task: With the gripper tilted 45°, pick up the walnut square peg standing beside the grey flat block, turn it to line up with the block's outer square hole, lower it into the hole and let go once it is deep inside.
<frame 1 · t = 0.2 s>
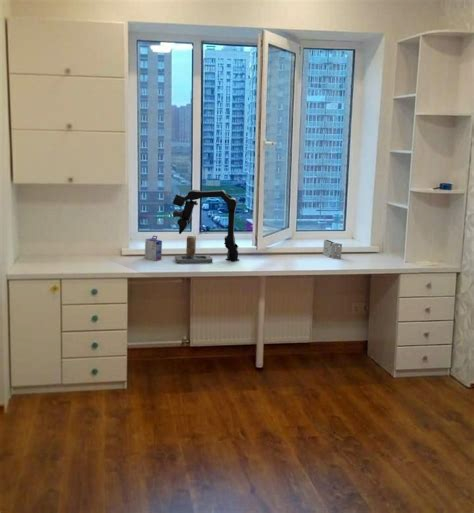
hand: (181, 232, 409), 16 cm above the table, tool tilted 15°, fingers open, 9 cm apart
ink cartridge box: (153, 259, 403), on the table
walnut peg: (190, 256, 412), on the table
grey flat block: (193, 261, 402), on the table
hinge: (331, 256, 432), on the table
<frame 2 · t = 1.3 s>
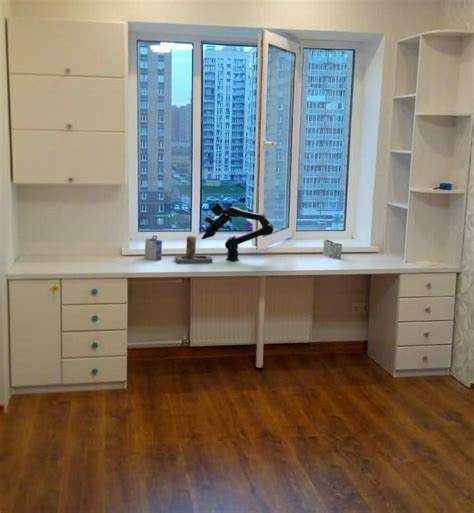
hand: (203, 237, 408), 13 cm above the table, tool tilted 45°, fingers open, 9 cm apart
nothing on the table moved.
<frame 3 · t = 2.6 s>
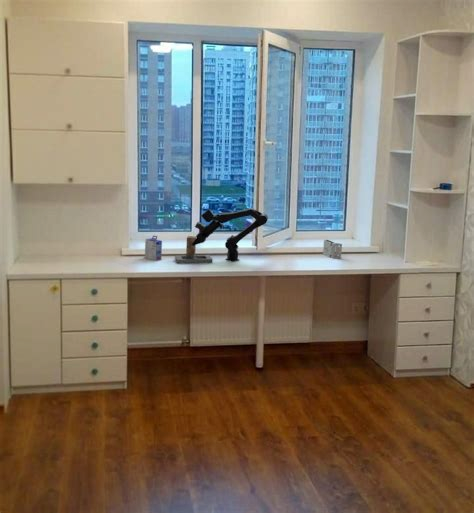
hand: (193, 243, 410), 9 cm above the table, tool tilted 45°, fingers open, 9 cm apart
nothing on the table moved.
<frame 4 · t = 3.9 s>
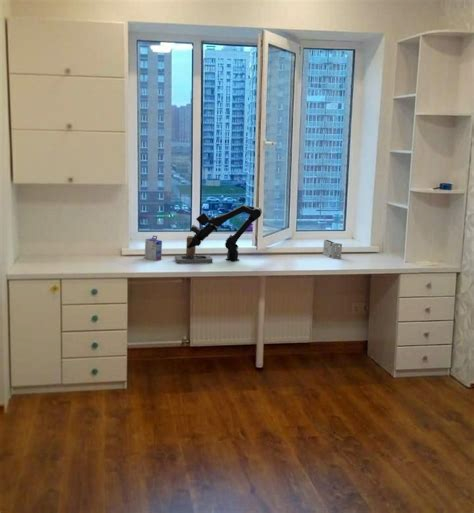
hand: (188, 246, 411), 7 cm above the table, tool tilted 45°, fingers closed on walnut peg, 5 cm apart
walnut peg: (190, 256, 412), on the table, touching gripper
everything else where it was.
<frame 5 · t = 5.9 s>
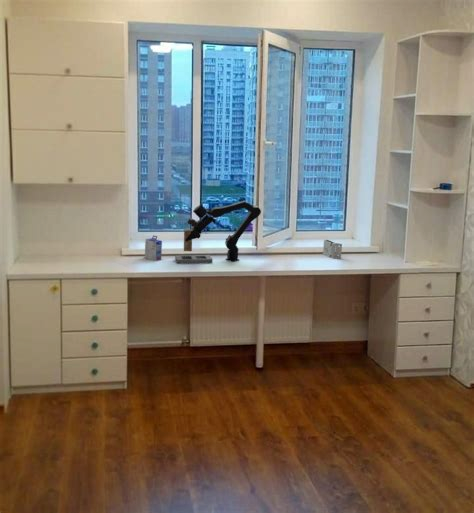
hand: (185, 239, 403), 13 cm above the table, tool tilted 45°, fingers closed on walnut peg, 5 cm apart
walnut peg: (187, 250, 405), point 6 cm above the table, touching gripper
everything else where it was.
when the fingers open (8 cm above the table, at t = 7.8 s): walnut peg drops 1 cm, resting in grey flat block.
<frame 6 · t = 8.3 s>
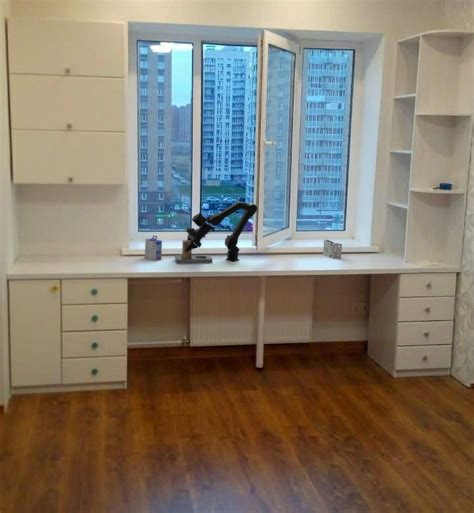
hand: (184, 248, 399), 8 cm above the table, tool tilted 45°, fingers open, 9 cm apart
walnut peg: (186, 261, 401), resting in grey flat block
everything else where it was.
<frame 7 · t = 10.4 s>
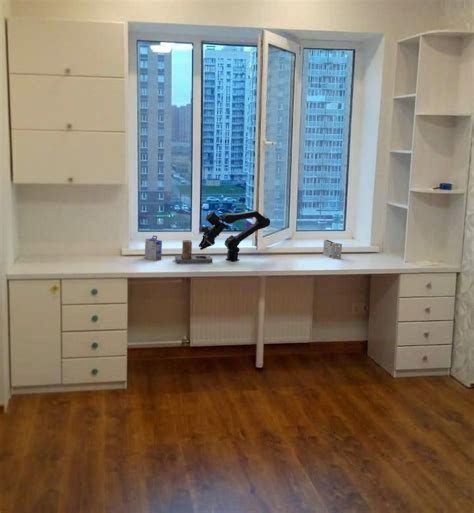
hand: (199, 248, 401), 8 cm above the table, tool tilted 40°, fingers open, 9 cm apart
nothing on the table moved.
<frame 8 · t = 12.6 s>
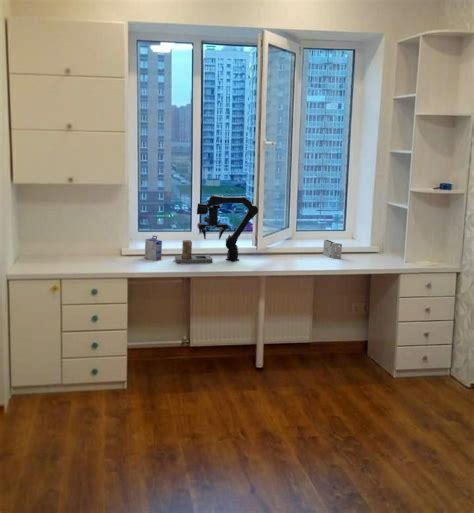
hand: (212, 239, 406), 13 cm above the table, tool pointing down, fingers open, 9 cm apart
nothing on the table moved.
at the end: walnut peg 0.0 cm from the target spot on the grey flat block, point 0.0 cm above the grey flat block's base; walnut peg tilted 0°; the gripper is holding nothing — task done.
